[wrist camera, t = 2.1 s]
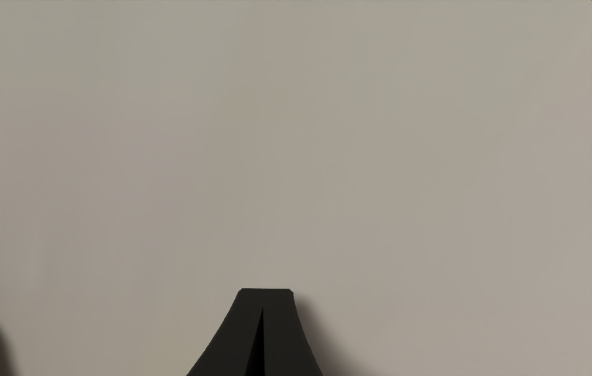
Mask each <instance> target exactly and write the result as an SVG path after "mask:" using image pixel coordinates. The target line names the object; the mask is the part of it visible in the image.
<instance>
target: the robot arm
mask: <svg viewBox="0 0 592 376" xmlns="http://www.w3.org/2000/svg"><path fill="white" fill-rule="evenodd" d="M187 376H323V374H322V372H321V370H320V368H319V366H318V364H317V362H316V360H315V358H314V356H313V354H312V351H311V349H310V347H309V344H308V342H307V339H306V337H305V335H304V332H303V329H302V327H301V324H300V320H299V317H298V314H297V311H296V307H295V302H294V296H293V292H292V291H291V290H290V289H256V288H242V289H241V290H240V291H239V292H238V293H237V296H236V298H235V300H234V302H233V304H232V306H231V308H230V310H229V312H228V314H227V316H226V317H225V319H224V321H223V323H222V324H221V326H220V328H219V329H218V331H217V332H216V334H215V335H214V337H213V339H212V340H211V342H210V343H209V345H208V346H207V348H206V349H205V351H204V352H203V354H202V355H201V356H200V358H199V359H198V361H197V362H196V363H195V365H194V366H193V367H192V369H191V370H190V372H189V373H188V374H187Z"/></svg>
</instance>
